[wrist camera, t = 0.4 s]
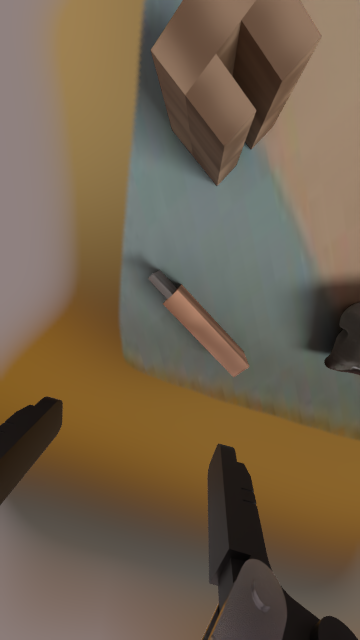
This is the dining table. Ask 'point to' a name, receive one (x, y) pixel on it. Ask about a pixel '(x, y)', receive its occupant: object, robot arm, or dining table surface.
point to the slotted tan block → (230, 73)
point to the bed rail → (201, 324)
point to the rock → (347, 343)
